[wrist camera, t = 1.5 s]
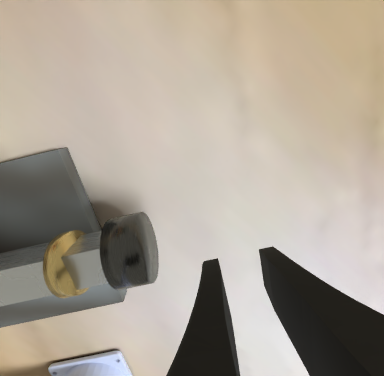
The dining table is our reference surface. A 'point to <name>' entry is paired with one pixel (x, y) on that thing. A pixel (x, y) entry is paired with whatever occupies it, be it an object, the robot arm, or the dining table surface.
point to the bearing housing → (46, 226)
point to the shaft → (82, 262)
